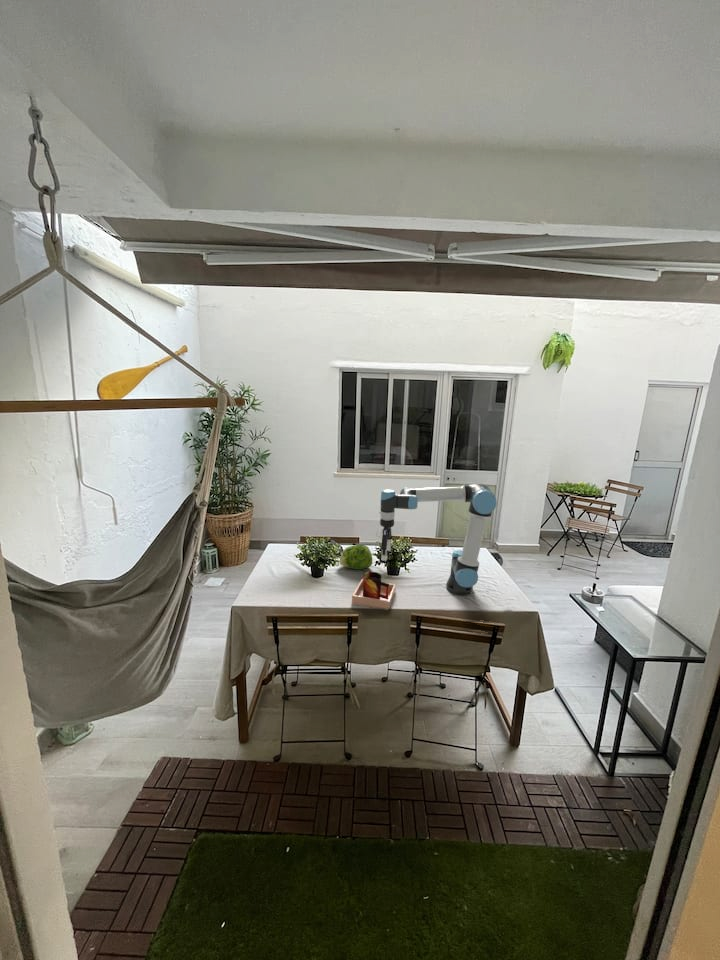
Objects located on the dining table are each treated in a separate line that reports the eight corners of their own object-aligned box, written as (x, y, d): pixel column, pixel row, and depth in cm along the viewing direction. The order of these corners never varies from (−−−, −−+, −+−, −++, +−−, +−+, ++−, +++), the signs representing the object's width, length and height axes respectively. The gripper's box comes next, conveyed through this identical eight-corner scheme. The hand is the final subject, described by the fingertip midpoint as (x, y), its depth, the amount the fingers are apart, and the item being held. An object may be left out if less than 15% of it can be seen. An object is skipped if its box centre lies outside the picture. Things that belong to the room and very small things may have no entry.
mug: (387, 601, 220) (389, 581, 217) (362, 599, 220) (363, 579, 217) (387, 592, 229) (389, 572, 226) (363, 591, 230) (364, 571, 227)
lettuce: (342, 564, 269) (335, 546, 264) (372, 556, 269) (366, 536, 263) (343, 579, 255) (336, 559, 249) (375, 570, 254) (369, 550, 248)
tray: (395, 592, 231) (395, 584, 230) (388, 610, 213) (389, 602, 211) (361, 586, 236) (361, 578, 235) (351, 603, 217) (352, 595, 216)
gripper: (384, 511, 232) (383, 546, 237) (376, 525, 208) (375, 563, 213) (397, 512, 230) (396, 547, 235) (390, 526, 206) (389, 565, 211)
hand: (386, 555), depth 224 cm, fingers open, 13 cm apart
